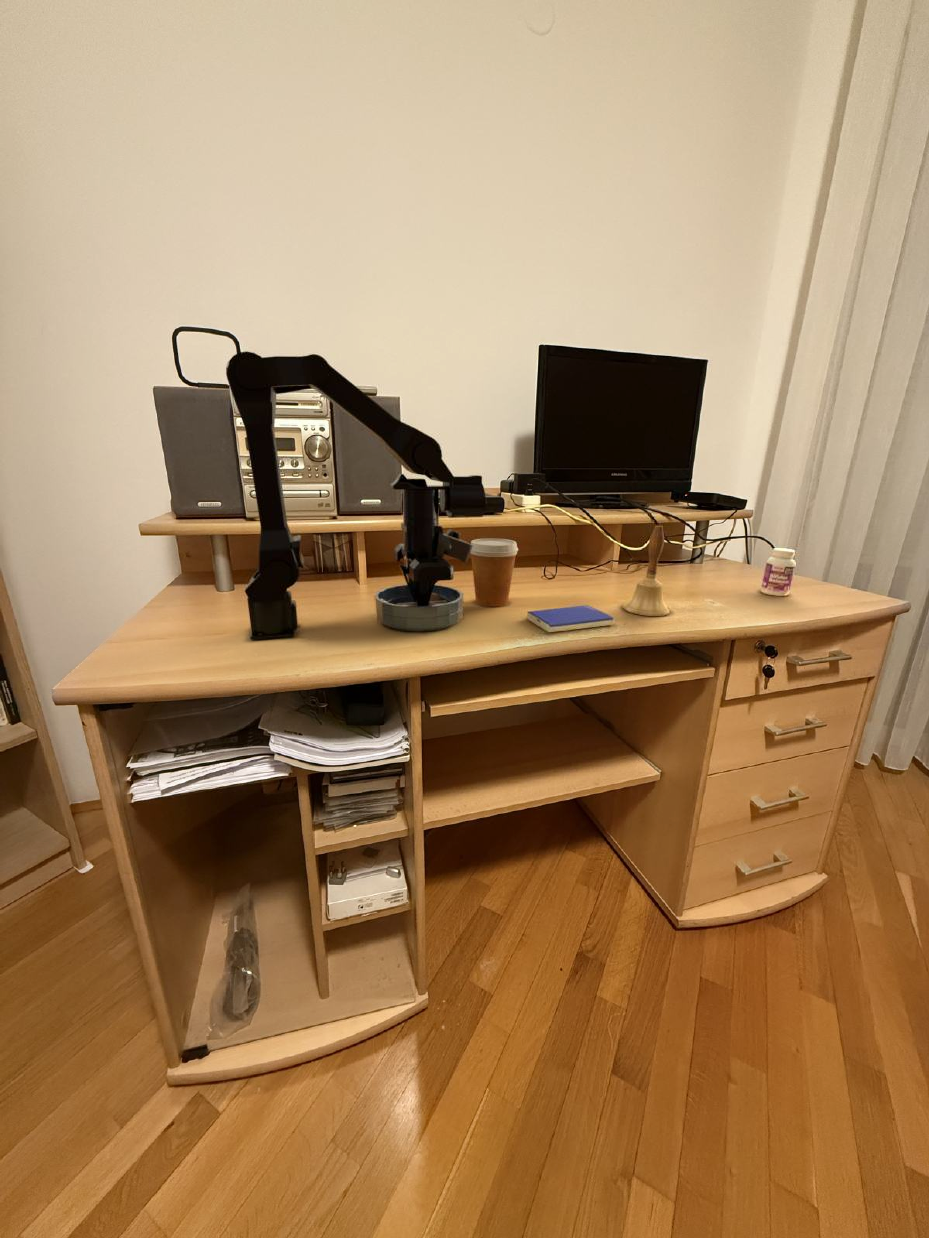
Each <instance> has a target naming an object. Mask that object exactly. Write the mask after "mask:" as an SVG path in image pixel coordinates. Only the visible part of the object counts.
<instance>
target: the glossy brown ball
mask: <svg viewBox="0 0 929 1238" xmlns="http://www.w3.org/2000/svg"><path fill="white" fill-rule="evenodd" d="M440 600H441V597H440V596H439V595H438V594H437V593H432V594H431V598H430V601H440Z"/></svg>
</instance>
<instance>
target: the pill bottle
mask: <svg viewBox="0 0 929 1238" xmlns="http://www.w3.org/2000/svg"><path fill="white" fill-rule="evenodd" d="M795 554H796V550H794V549H791V548H784V547H783V548H781V547H774V548H773V550H772V553H771V555H772V557H769V558H768V559H767V560H766V565H765V569H764V572H763V577H762V581H761V586H760V591H761V592H762V593H763V594H766V595H770V596H777V597H783V596H784V597H785V596H788V595H789V594H790V590H791V587H792V582H793V580H794V579H793V578H794V575H795V570H796V565H797V563H796V561H795V560H794V559H793V558H794V557H795Z"/></svg>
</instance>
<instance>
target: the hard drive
mask: <svg viewBox="0 0 929 1238" xmlns="http://www.w3.org/2000/svg"><path fill="white" fill-rule="evenodd" d="M526 618H527V620H528V621H530V622H532V623H533V624H535V625H537V626H538V627H540V628H541V629H543V630H544V631H546V632H548V633H554V632H556V633H557V632H564V631H573V630H579V629H588V628H597V627H604V626H612V625H614V617H613V616H612V615H611V614H608V613H606V612H604V611H602V610H599V609H597V608H595V607H593V606H590V605H588V604H585V605H577V606H576V605H574V606H567V607H557V608H548V609H540V610H529V611H527V612H526Z"/></svg>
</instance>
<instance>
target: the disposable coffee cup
mask: <svg viewBox="0 0 929 1238" xmlns="http://www.w3.org/2000/svg"><path fill="white" fill-rule="evenodd" d="M470 544H471V545H473V547H472V550H471V553H470V556H471V567H472V575H473V576H472V577H473V587H474V597H475V603H476V604H477V605H479V606H483V607H491V608H492V607H493V608H494V607H503V606H506V605H508V604H509V603H508V602H509V597H510V591H511V590H510V589H511V585H512V579H513V573H514V569H515V568H514V567H515V561H516V557H517V554H518V551H519V550H520V549H519V548H518V545H517V541H515V540H512V539H507V538H496V537H495V538H493V537H492V538H491V537H490V538H488V537H487V538H486V537H485V538H476V539H473V540H471V541H470Z"/></svg>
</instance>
